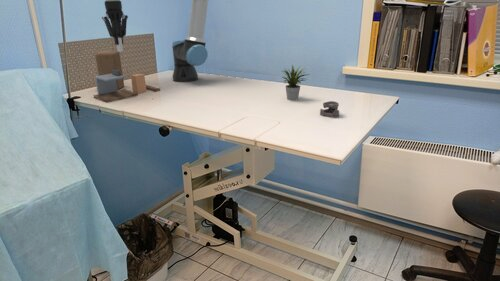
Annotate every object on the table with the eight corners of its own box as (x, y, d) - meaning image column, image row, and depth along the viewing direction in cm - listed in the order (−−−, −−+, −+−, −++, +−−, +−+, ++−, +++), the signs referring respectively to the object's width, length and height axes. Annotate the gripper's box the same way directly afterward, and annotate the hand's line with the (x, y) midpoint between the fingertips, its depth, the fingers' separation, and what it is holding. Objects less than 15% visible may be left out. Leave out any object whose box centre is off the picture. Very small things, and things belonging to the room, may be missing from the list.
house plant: (294, 105, 163) (295, 69, 157) (271, 100, 172) (271, 65, 166) (312, 99, 173) (314, 64, 167) (289, 94, 182) (290, 61, 176)
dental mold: (343, 114, 150) (344, 103, 148) (335, 119, 145) (336, 107, 143) (326, 111, 155) (327, 100, 153) (318, 115, 150) (318, 103, 148)
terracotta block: (141, 89, 196) (139, 73, 193) (146, 91, 193) (144, 74, 190) (133, 91, 193) (130, 74, 189) (138, 93, 190) (135, 76, 186)
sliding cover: (116, 90, 190) (112, 68, 185) (128, 94, 182) (124, 71, 177) (98, 94, 183) (93, 71, 178) (109, 98, 175) (105, 74, 171)
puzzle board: (145, 86, 203) (145, 84, 202) (159, 90, 194) (159, 88, 193) (93, 97, 183) (93, 95, 182) (106, 102, 174) (106, 100, 173)
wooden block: (118, 90, 196) (112, 53, 188) (100, 90, 196) (93, 53, 188) (125, 86, 205) (119, 50, 197) (107, 86, 205) (101, 50, 198)
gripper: (120, 0, 178) (127, 49, 186) (95, 0, 168) (104, 52, 177) (129, 0, 173) (136, 50, 182) (104, 0, 164) (113, 53, 173)
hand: (120, 51), depth 180 cm, fingers closed
